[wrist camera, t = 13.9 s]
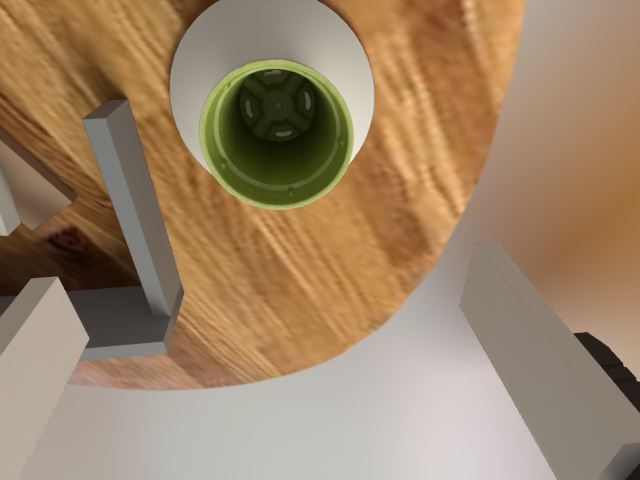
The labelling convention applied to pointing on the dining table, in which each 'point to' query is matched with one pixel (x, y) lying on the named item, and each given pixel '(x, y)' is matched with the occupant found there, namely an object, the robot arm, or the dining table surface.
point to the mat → (268, 57)
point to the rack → (143, 242)
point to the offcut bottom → (31, 184)
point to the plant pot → (264, 145)
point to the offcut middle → (7, 207)
